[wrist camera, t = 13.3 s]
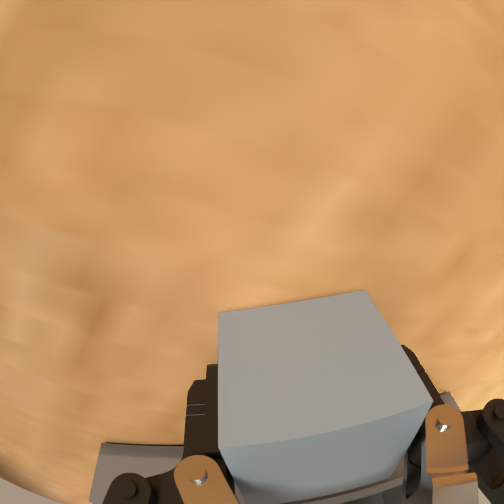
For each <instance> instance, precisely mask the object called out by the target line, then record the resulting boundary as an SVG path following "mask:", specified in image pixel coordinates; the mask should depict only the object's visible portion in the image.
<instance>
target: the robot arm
mask: <svg viewBox="0 0 504 504" xmlns="http://www.w3.org/2000/svg"><path fill="white" fill-rule="evenodd" d="M401 347H402V348H403V350H404V352H405V353H406V355H407V356H408V358H409V360H410V361H411V363H412V365H413V366H414V368H415V370H416V372H417V373H418V375H419V377H420V378H421V380H422V382H423V384H424V385H425V387H426V389H427V391H428V392H429V394H430V396H431V398H432V399H433V402H432V405H431V407H430V409H429V411H428V413H427V415H426V417H425V419H424V420H423V422H422V424H421V426H420V428H419V430H418V432H417V434H416V435H415V437H414V439H413V441H412V442H411V444H410V446H409V448H408V449H407V451H406V453H405V456H404V472H403V488H402V499H401V504H478V487H479V489H480V490H481V491H482V492H483V493H484V495H485V496H486V497H487V498H488V500H489V501H490V502H491V504H504V400H503V399H493V400H491V401H489V402H488V403H487V404H486V406H485V407H484V409H482V410H475V411H466V412H461V411H459V410H458V409H456V408H455V407H453V406H451V405H446V404H445V403H444V402H443V400H442V399H441V397H440V395H439V393H438V392H437V390H436V388H435V387H434V385H433V383H432V382H431V380H430V378H429V377H428V375H427V373H425V370H424V368H423V367H422V365H420V362H419V360H418V359H417V357H416V356H415V354H414V352H412V351H411V350H410V349H408V348H407V347H406V346H404V345H401ZM102 504H240V503H239V502H238V500H237V498H236V496H235V483H234V479H233V477H232V475H231V473H230V471H229V469H228V467H227V465H226V463H225V461H224V459H223V456H222V454H221V452H220V450H219V448H218V364H210V365H207V373H206V379H205V380H195V381H194V382H193V384H192V386H191V387H190V389H189V391H188V397H187V409H186V421H185V435H184V450H183V456H182V459H181V460H180V462H179V463H178V465H177V466H176V467H175V468H173V469H172V470H170V471H168V472H165V473H162V474H158V475H154V476H151V477H147V478H144V477H143V476H141V475H139V474H137V473H123V474H121V475H119V476H117V477H116V478H115V479H114V480H113V481H112V482H111V484H110V486H109V489H108V491H107V493H106V496H105V498H104V501H103V503H102Z"/></svg>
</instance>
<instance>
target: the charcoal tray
mask: <svg viewBox="0 0 504 504" xmlns="http://www.w3.org/2000/svg"><path fill="white" fill-rule="evenodd" d="M440 397H441V399H442V400H443V402H444V403H445V404H446V405H451V406H453V407H455V408H456V409H458V410H459V411H460V409H459V407H458V406H457V404H456V402H455V401H454V399H453V397H452V396H451V394H450V392H446V393H444V394H442V395H440ZM183 450H184V446H141V445H122V444H109V443H101V448H100V452H99V456H98V460H97V465H96V469H95V474H94V479H93V483H92V488H91V494H90V499H89V501H90V502H91V503H93V504H102V503H103V501H104V498H105V496H106V493H107V491H108V489H109V486H110V484H111V482H112V481H113V480H114V479H115V478H116V477H117V476H119V475H121V474H123V473H137V474H139V475H141V476H143V477H144V478H147V477H151V476H154V475H158V474H162V473H165V472H168V471H170V470H172V469H173V468H175V467H176V466H177V465H178V463H179V462H180V460H181V459H182V456H183ZM404 456H405V454H404ZM404 456H403V458H402V459H401V461H400V462H399V464H398V466H397V467H396V469H395V470H394V472H393V473H392V475H391V476H390V478H387V479H384V480H381V481H378V482H375V483H372V484H368V485H365V486H361V487H358V488H354V489H350V490H347V491H343V492H338V493H334V494H330V495H325V496H321V497H316V498H311V499H305V500H300V501H293V502H287V503H280V504H401V499H402V488H403V472H404ZM234 483H235V481H234ZM235 496H236V498H237V500H238V502H239V503H240V504H247V503H246V502H245V500H244V498H243V496H242V494H241V492H240V490H239V488H238V487H237V485H236V483H235Z"/></svg>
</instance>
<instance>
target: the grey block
mask: <svg viewBox="0 0 504 504" xmlns="http://www.w3.org/2000/svg"><path fill="white" fill-rule="evenodd" d="M432 402H433V399H432V398H431V396H430V394H429V392H428V391H427V389H426V387H425V385H424V384H423V382H422V380H421V378H420V377H419V375H418V373H417V372H416V370H415V368H414V366H413V365H412V363H411V361H410V360H409V358H408V356H407V355H406V353H405V352H404V350H403V348H402V347H401V345H400V343H399V342H398V340H397V339H396V337H395V335H394V334H393V332H392V331H391V329H390V327H389V326H388V324H387V323H386V321H385V320H384V318H383V316H382V315H381V313H380V312H379V310H378V309H377V307H376V306H375V304H374V303H373V301H372V300H371V298H370V297H369V295H368V294H367V292H366V291H365V290H361V291H356V292H350V293H345V294H339V295H334V296H328V297H322V298H316V299H310V300H304V301H298V302H292V303H285V304H279V305H272V306H265V307H258V308H251V309H244V310H236V311H229V312H221V313H219V332H218V448H219V450H220V452H221V454H222V456H223V459H224V461H225V463H226V465H227V467H228V469H229V471H230V473H231V475H232V477H233V479H234V481H235V483H236V485H237V487H238V488H239V490H240V492H241V494H242V496H243V498H244V500H245V502H246V503H247V504H280V503H287V502H293V501H300V500H305V499H311V498H316V497H321V496H325V495H330V494H334V493H338V492H343V491H347V490H350V489H354V488H358V487H361V486H365V485H368V484H372V483H375V482H378V481H381V480H384V479H387V478H390V476H391V475H392V473H393V472H394V470H395V469H396V467H397V466H398V464H399V462H400V461H401V459H402V458H403V456H404V454H405V453H406V451H407V449H408V448H409V446H410V444H411V442H412V441H413V439H414V437H415V435H416V434H417V432H418V430H419V428H420V426H421V424H422V422H423V420H424V419H425V417H426V415H427V413H428V411H429V409H430V407H431V405H432Z"/></svg>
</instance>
